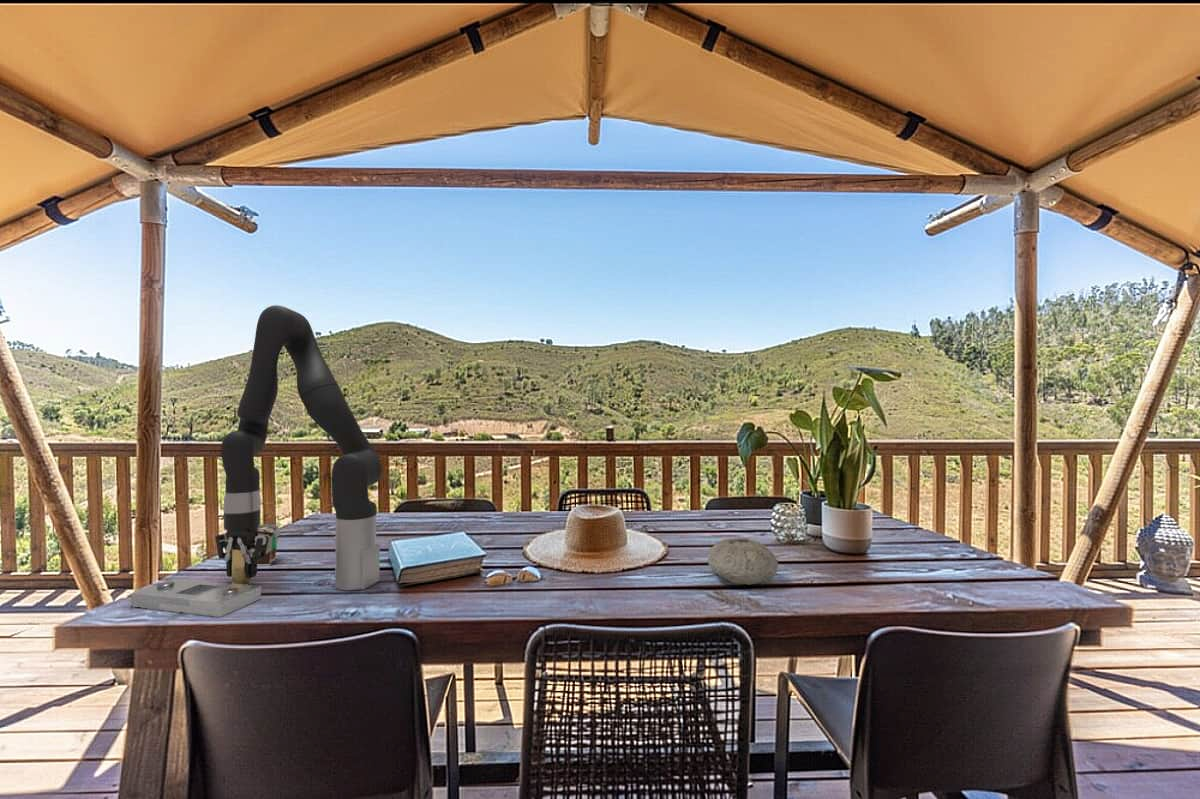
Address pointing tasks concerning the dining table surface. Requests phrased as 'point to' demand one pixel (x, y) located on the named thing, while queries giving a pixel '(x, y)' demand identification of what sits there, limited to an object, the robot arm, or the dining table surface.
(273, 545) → the food container
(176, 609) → the studded base plate
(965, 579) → the dining table surface
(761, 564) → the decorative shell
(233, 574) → the brass pin
